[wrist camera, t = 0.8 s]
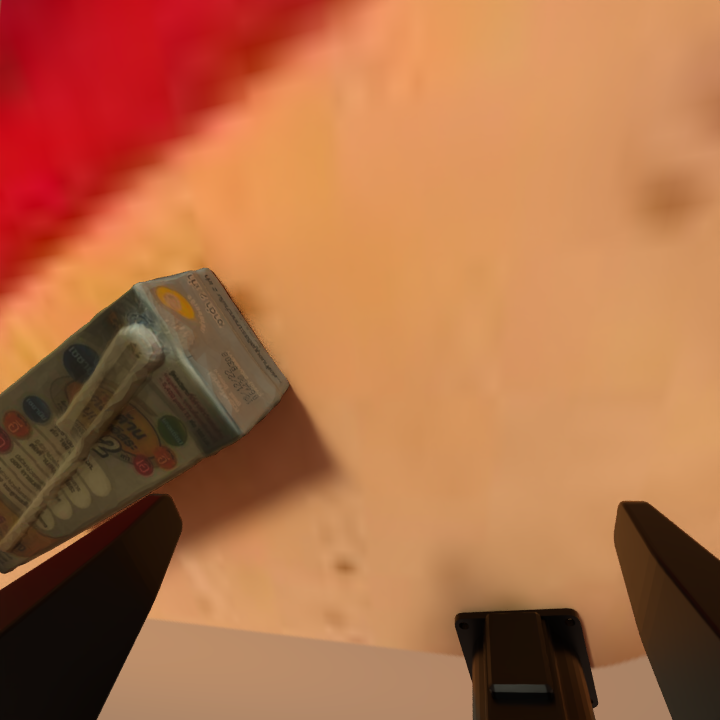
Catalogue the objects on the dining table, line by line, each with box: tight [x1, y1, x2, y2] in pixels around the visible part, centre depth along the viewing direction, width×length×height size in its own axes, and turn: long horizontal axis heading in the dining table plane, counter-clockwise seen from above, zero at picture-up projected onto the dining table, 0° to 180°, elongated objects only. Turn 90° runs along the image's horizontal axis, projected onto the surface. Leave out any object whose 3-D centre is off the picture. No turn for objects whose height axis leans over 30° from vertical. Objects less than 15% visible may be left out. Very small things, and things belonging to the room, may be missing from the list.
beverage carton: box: [0, 268, 289, 574], centre depth 23 cm, size 8×19×7 cm, turn 124°
